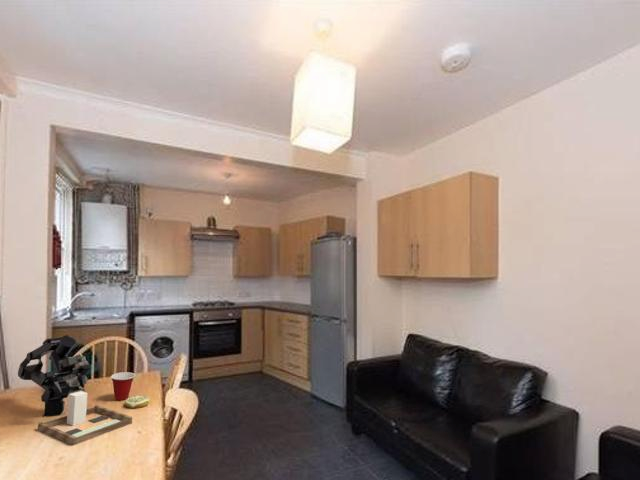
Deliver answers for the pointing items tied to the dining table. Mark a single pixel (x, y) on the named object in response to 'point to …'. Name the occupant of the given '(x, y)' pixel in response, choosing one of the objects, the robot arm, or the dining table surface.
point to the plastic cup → (122, 385)
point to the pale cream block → (77, 408)
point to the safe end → (96, 428)
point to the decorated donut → (137, 401)
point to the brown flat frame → (74, 440)
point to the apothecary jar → (73, 378)
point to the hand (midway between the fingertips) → (72, 390)
